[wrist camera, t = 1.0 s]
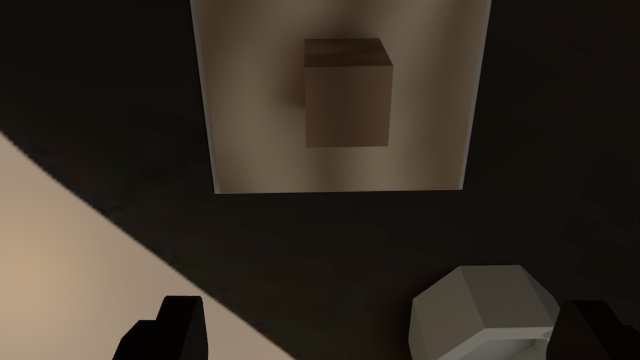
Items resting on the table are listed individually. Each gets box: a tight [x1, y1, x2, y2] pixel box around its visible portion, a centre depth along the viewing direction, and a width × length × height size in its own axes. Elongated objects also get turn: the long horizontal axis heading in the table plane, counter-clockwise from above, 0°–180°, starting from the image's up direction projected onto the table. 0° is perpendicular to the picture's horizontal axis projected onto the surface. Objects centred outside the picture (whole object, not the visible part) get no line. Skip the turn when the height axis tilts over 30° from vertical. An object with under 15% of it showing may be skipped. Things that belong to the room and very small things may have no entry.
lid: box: [196, 0, 487, 193], centre depth 26 cm, size 15×15×6 cm
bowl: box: [408, 265, 560, 360], centre depth 36 cm, size 11×11×6 cm
